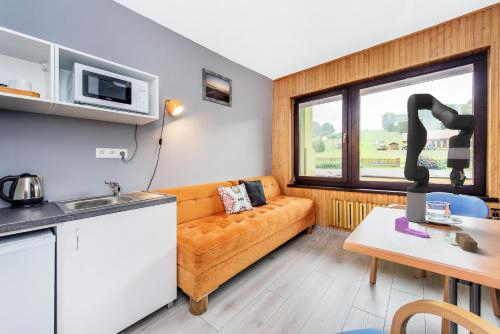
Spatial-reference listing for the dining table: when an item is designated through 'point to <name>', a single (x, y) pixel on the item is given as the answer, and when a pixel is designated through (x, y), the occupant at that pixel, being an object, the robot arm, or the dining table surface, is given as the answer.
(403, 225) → the bracket
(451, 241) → the mat
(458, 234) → the walnut block
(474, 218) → the dining table surface
